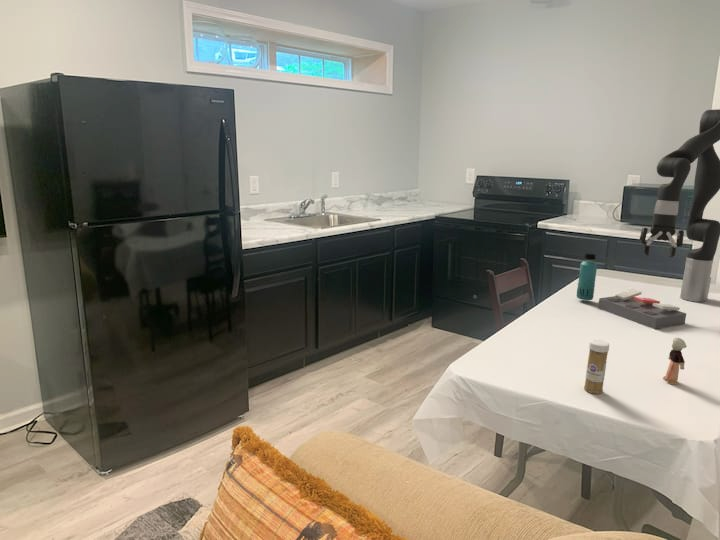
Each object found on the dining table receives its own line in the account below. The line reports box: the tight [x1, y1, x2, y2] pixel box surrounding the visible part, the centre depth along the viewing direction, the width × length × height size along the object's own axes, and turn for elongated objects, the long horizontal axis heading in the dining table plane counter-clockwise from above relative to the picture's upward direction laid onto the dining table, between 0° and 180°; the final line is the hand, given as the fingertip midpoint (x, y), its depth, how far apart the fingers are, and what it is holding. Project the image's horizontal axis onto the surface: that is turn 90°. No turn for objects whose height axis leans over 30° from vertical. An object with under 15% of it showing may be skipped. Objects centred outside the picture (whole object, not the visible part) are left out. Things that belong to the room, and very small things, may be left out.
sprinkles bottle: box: [583, 339, 610, 395], centre depth 138 cm, size 5×5×13 cm
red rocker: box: [634, 296, 661, 305], centre depth 199 cm, size 9×4×2 cm, turn 113°
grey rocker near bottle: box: [614, 288, 642, 300], centre depth 206 cm, size 9×4×2 cm, turn 113°
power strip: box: [597, 295, 687, 330], centre depth 199 cm, size 15×25×4 cm, turn 23°
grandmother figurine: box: [662, 337, 688, 386], centre depth 143 cm, size 8×4×13 cm, turn 5°
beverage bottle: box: [576, 252, 598, 301], centre depth 213 cm, size 6×7×20 cm
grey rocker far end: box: [652, 303, 681, 311], centre depth 192 cm, size 9×4×2 cm, turn 113°
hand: (658, 256), depth 200 cm, fingers open, 8 cm apart
